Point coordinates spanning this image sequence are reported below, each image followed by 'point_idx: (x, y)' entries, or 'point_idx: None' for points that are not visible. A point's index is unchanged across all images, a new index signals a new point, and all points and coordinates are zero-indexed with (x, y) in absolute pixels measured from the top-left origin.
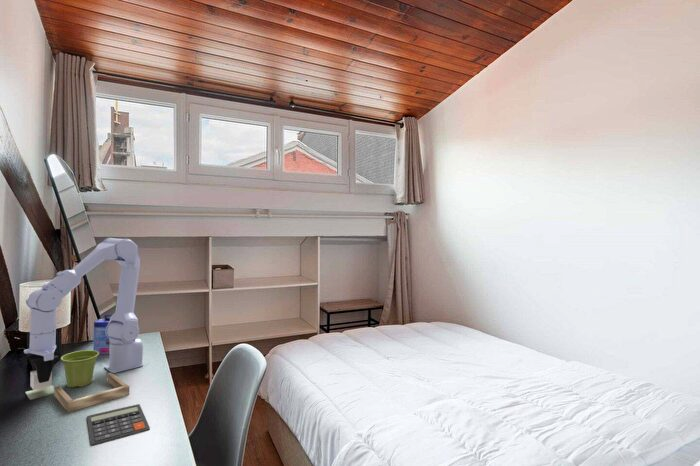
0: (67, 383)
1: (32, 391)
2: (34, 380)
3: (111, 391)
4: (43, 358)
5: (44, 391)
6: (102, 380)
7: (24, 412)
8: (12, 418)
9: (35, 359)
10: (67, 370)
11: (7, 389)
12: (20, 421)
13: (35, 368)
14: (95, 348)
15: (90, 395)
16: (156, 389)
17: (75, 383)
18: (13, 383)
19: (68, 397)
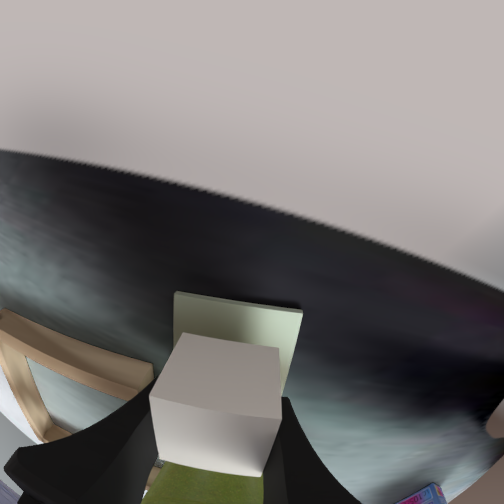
0: None
1: (273, 335)
2: (161, 372)
3: (22, 410)
4: (25, 498)
5: None
6: None
7: (60, 223)
8: (42, 177)
9: (36, 495)
10: (185, 482)
11: (433, 270)
12: (13, 193)
13: (277, 453)
14: (431, 497)
15: (10, 377)
16: None
17: None
18: (470, 307)
19: (13, 345)
